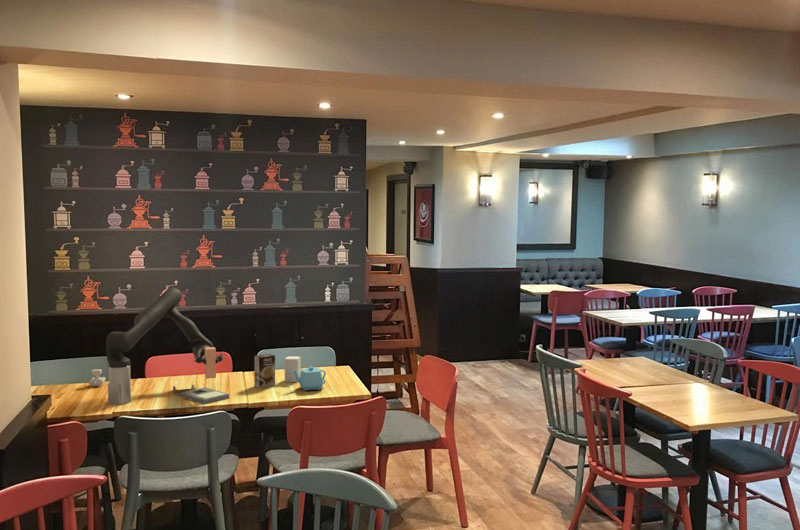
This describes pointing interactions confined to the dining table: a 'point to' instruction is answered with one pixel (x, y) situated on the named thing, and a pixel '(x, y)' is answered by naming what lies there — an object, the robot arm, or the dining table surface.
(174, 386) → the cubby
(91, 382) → the stamp
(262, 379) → the coffee box
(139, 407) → the dining table surface
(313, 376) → the teapot
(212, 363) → the terracotta block
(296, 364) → the supplement box
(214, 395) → the board
